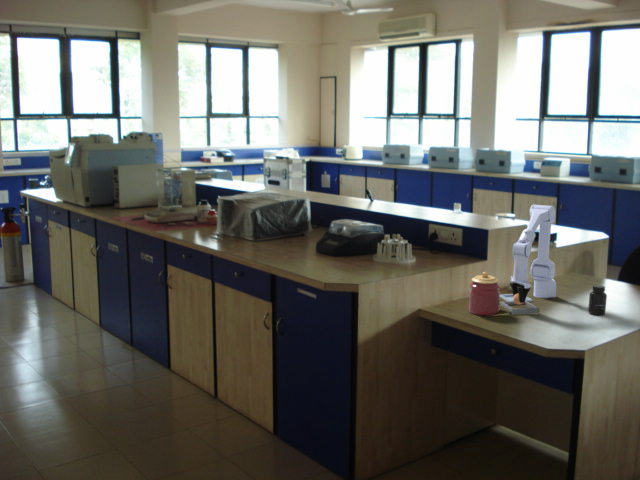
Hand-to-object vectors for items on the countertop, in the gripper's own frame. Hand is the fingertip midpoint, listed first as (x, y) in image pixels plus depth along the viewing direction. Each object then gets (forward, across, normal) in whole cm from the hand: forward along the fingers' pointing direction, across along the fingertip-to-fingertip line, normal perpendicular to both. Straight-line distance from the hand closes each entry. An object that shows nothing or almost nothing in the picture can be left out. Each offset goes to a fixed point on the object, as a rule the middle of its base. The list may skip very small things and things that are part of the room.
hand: (519, 300), depth 292 cm
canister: (+4, 0, -16) cm, 17 cm away
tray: (+4, 0, 0) cm, 4 cm away
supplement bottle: (+4, +11, +30) cm, 32 cm away
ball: (+2, 0, 0) cm, 2 cm away
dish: (+4, -14, +5) cm, 15 cm away
